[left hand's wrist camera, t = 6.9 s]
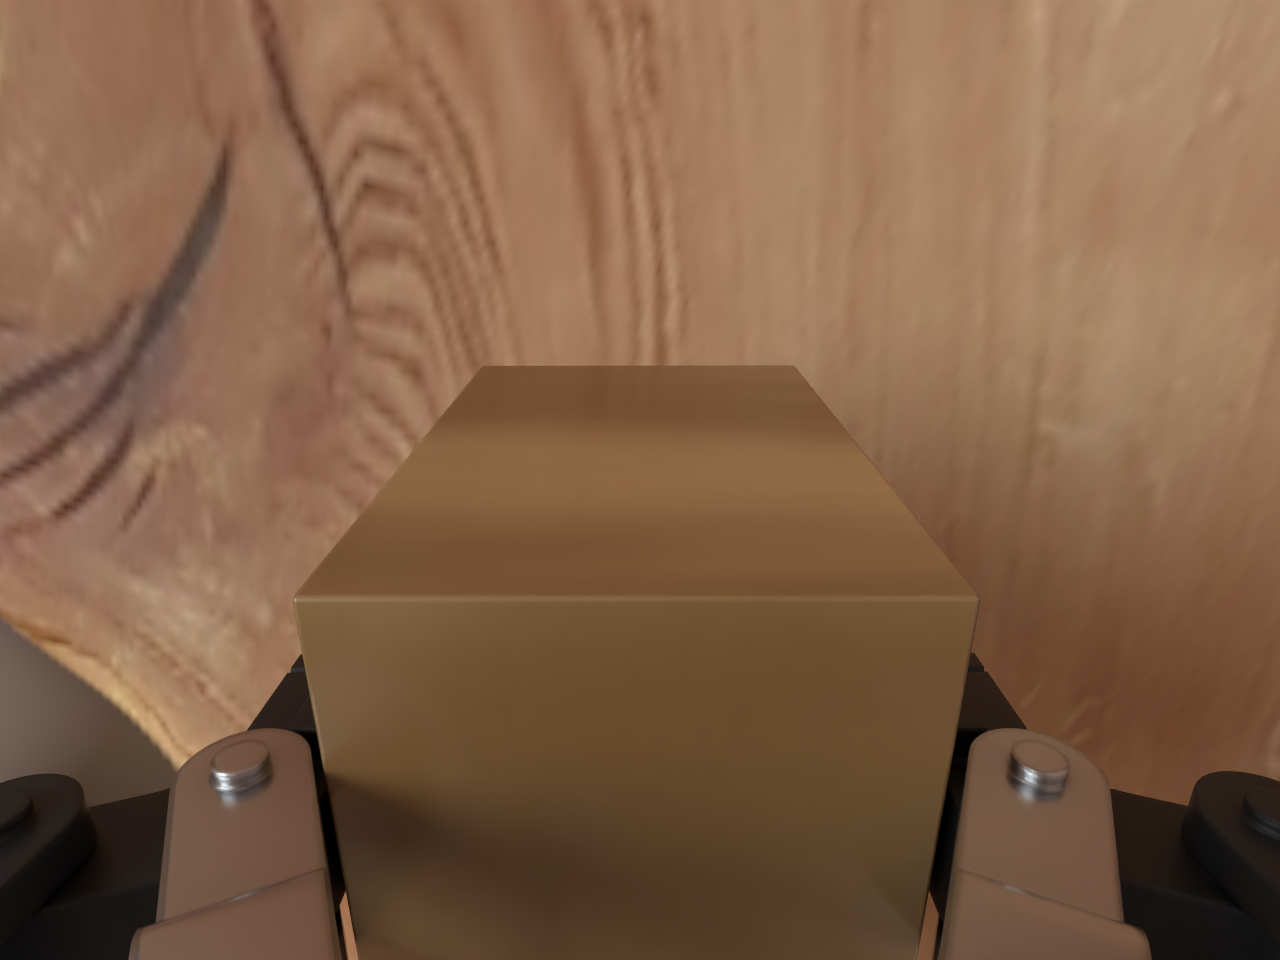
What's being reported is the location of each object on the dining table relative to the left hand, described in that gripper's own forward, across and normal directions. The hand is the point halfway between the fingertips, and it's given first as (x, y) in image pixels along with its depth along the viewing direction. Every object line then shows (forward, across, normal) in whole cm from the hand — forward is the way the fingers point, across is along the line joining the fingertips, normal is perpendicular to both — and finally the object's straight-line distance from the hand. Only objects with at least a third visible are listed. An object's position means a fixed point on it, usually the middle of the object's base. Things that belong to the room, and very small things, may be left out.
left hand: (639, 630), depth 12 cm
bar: (+4, 0, -8) cm, 9 cm away
